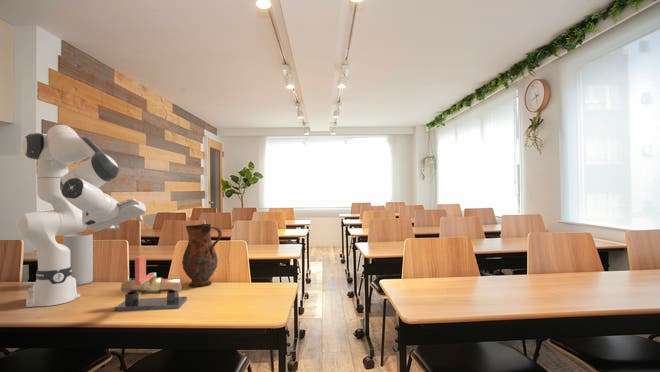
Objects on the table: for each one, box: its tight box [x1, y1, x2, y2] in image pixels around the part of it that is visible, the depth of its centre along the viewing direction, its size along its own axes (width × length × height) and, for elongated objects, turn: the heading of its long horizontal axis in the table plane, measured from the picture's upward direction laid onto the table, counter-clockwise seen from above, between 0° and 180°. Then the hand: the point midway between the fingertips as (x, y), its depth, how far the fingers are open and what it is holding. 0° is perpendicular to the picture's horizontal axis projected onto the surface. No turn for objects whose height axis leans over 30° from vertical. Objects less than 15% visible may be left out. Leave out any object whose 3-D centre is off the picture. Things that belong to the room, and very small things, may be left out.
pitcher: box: [181, 223, 223, 288], centre depth 178 cm, size 17×21×30 cm
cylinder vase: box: [62, 233, 94, 287], centre depth 184 cm, size 12×12×25 cm
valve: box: [114, 276, 188, 312], centre depth 146 cm, size 24×11×11 cm, turn 96°
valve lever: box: [134, 254, 157, 285], centre depth 139 cm, size 16×3×11 cm, turn 6°
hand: (129, 223), depth 140 cm, fingers open, 8 cm apart
